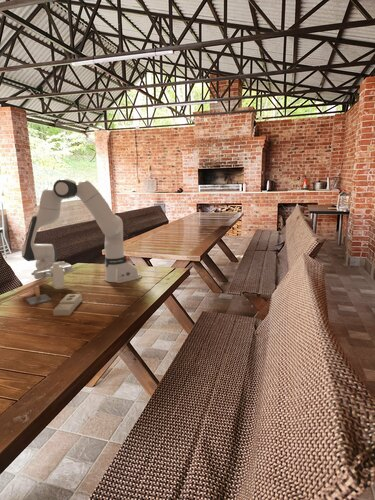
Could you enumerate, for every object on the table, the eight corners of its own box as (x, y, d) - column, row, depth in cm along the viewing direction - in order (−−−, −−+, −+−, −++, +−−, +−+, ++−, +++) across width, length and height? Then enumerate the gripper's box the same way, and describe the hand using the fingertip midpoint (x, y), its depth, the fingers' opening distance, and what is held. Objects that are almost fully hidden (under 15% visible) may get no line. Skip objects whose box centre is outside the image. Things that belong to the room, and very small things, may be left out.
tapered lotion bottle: (61, 283, 176) (58, 261, 173) (65, 286, 172) (61, 263, 169) (52, 286, 172) (49, 263, 169) (55, 288, 169) (52, 265, 166)
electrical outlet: (52, 308, 143) (67, 293, 161) (53, 316, 144) (68, 301, 161) (68, 307, 143) (81, 293, 160) (69, 316, 144) (82, 300, 161)
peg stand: (45, 295, 169) (44, 281, 168) (51, 300, 162) (49, 286, 160) (25, 300, 163) (23, 285, 162) (30, 305, 156) (28, 290, 154)
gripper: (29, 267, 173) (36, 272, 163) (66, 260, 186) (75, 264, 175) (31, 278, 175) (38, 284, 164) (67, 270, 187) (76, 275, 177)
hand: (57, 274), depth 170 cm, fingers closed on tapered lotion bottle, 5 cm apart
